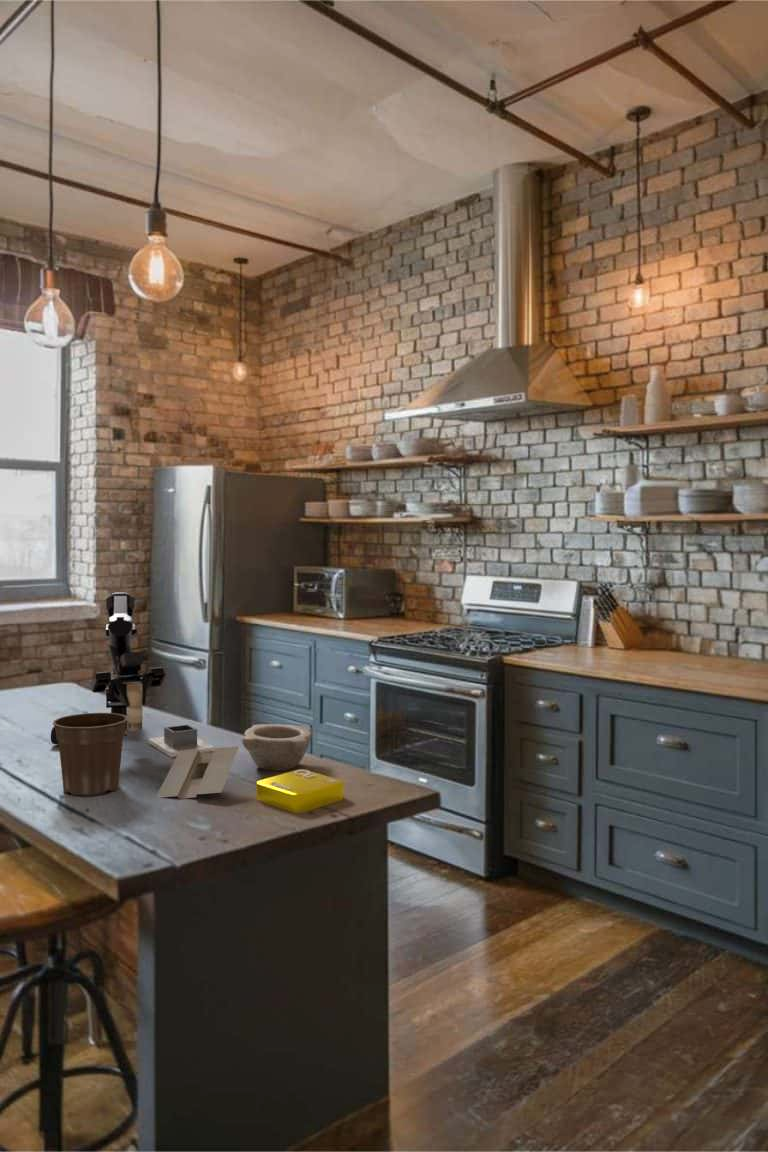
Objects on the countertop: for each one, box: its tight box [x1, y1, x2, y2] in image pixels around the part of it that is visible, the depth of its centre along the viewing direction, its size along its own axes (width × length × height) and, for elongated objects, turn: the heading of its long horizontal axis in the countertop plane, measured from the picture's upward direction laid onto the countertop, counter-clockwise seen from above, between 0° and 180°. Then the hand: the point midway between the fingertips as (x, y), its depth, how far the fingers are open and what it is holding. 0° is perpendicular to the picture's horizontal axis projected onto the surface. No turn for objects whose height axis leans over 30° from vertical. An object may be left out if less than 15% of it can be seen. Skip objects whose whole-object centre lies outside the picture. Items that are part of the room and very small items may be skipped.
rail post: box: [126, 682, 143, 732], centre depth 229 cm, size 4×4×12 cm
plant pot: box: [52, 712, 128, 797], centre depth 198 cm, size 16×16×16 cm
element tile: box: [255, 768, 345, 814], centre depth 193 cm, size 15×15×5 cm
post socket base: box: [147, 724, 215, 759], centre depth 237 cm, size 18×12×5 cm, turn 34°
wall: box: [155, 746, 240, 799], centre depth 199 cm, size 16×9×15 cm
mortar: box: [241, 723, 313, 772], centre depth 219 cm, size 17×17×9 cm
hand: (136, 705), depth 228 cm, fingers closed on rail post, 4 cm apart
